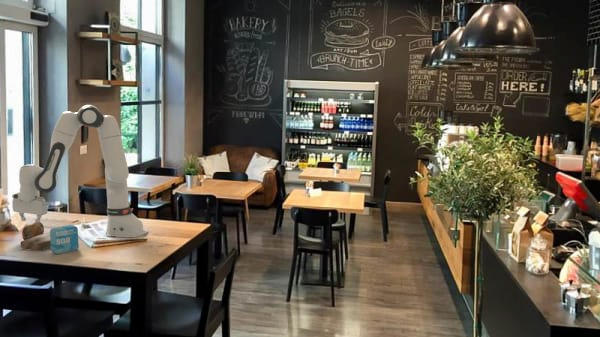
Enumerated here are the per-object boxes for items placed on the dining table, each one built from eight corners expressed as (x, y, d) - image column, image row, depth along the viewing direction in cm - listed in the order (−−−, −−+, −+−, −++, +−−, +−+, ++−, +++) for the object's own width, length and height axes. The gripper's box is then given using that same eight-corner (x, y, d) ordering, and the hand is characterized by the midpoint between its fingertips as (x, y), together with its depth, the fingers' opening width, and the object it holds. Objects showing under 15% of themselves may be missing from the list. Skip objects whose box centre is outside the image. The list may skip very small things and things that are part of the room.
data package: (55, 254, 288) (53, 230, 286) (50, 253, 291) (49, 228, 289) (79, 249, 297) (77, 225, 295) (74, 247, 300) (73, 224, 298)
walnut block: (68, 241, 313) (68, 233, 313) (40, 251, 294) (40, 243, 294) (49, 239, 317) (49, 231, 316) (21, 249, 298) (20, 241, 298)
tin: (26, 243, 307) (25, 227, 306) (21, 243, 308) (20, 227, 307) (45, 236, 322) (44, 220, 321) (39, 235, 323) (38, 220, 321)
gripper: (49, 196, 310) (50, 222, 312) (19, 192, 318) (20, 218, 320) (40, 198, 305) (41, 225, 307) (9, 194, 312) (10, 221, 314)
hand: (30, 221), depth 313 cm, fingers open, 8 cm apart
